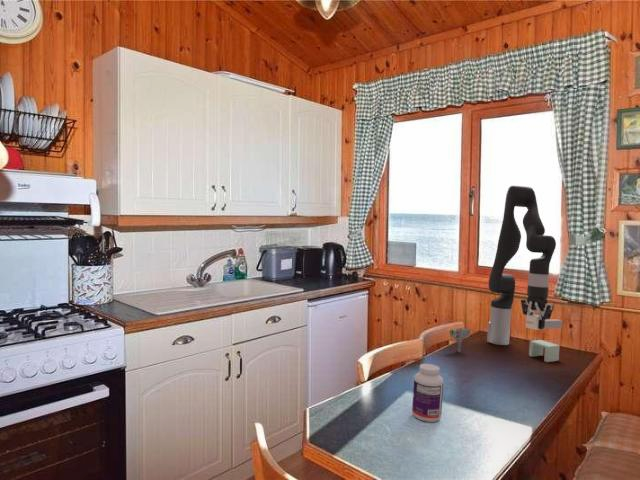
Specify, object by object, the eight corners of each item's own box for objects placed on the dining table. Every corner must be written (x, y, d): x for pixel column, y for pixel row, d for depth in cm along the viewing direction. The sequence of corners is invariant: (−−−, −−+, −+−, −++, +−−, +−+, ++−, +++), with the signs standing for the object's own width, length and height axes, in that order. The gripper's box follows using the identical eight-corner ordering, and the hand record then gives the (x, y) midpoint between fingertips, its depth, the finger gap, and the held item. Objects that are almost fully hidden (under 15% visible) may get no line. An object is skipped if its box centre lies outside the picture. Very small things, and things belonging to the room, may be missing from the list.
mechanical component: (447, 351, 191) (448, 328, 191) (465, 350, 195) (466, 327, 195) (451, 353, 188) (453, 330, 188) (470, 351, 193) (471, 329, 192)
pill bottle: (419, 408, 130) (422, 360, 129) (445, 417, 125) (449, 367, 124) (406, 416, 124) (409, 366, 123) (433, 426, 119) (436, 373, 118)
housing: (539, 354, 195) (540, 339, 195) (558, 360, 187) (559, 345, 186) (528, 355, 192) (529, 340, 191) (547, 362, 184) (548, 346, 183)
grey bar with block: (554, 325, 183) (555, 314, 183) (563, 328, 179) (564, 316, 179) (523, 327, 177) (524, 315, 176) (532, 330, 172) (533, 317, 172)
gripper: (560, 287, 171) (557, 331, 171) (529, 282, 184) (527, 323, 184) (547, 287, 167) (544, 332, 168) (516, 282, 180) (514, 324, 181)
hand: (535, 327), depth 176 cm, fingers closed on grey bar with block, 4 cm apart
